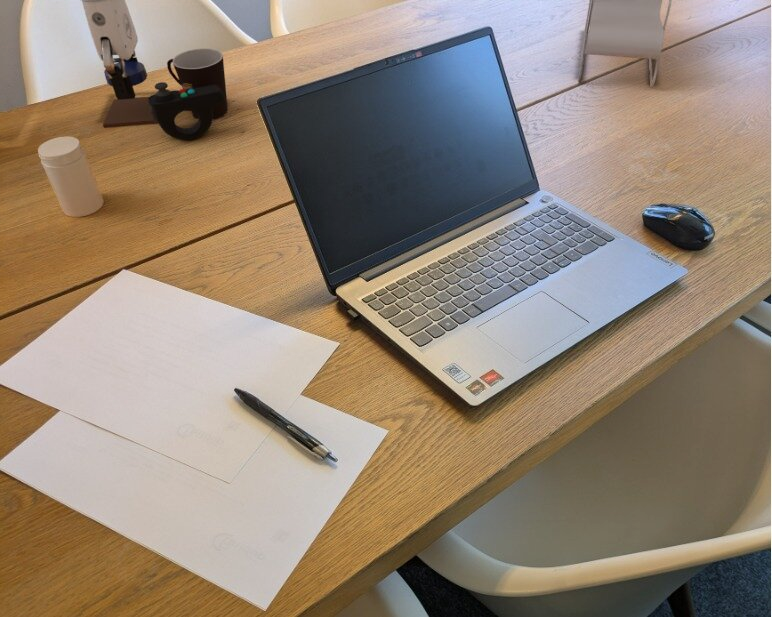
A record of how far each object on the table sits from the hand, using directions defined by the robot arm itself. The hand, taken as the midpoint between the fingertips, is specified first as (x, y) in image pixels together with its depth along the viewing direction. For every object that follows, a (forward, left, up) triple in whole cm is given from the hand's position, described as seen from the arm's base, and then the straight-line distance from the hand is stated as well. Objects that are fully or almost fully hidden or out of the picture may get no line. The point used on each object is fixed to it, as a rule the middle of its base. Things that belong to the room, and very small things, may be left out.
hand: (130, 88), depth 119 cm
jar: (-3, -30, -5) cm, 31 cm away
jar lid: (0, 0, +3) cm, 3 cm away
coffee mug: (+13, -1, -5) cm, 14 cm away
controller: (+12, -11, -5) cm, 17 cm away
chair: (+93, +5, -5) cm, 93 cm away
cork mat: (0, 0, -5) cm, 5 cm away
